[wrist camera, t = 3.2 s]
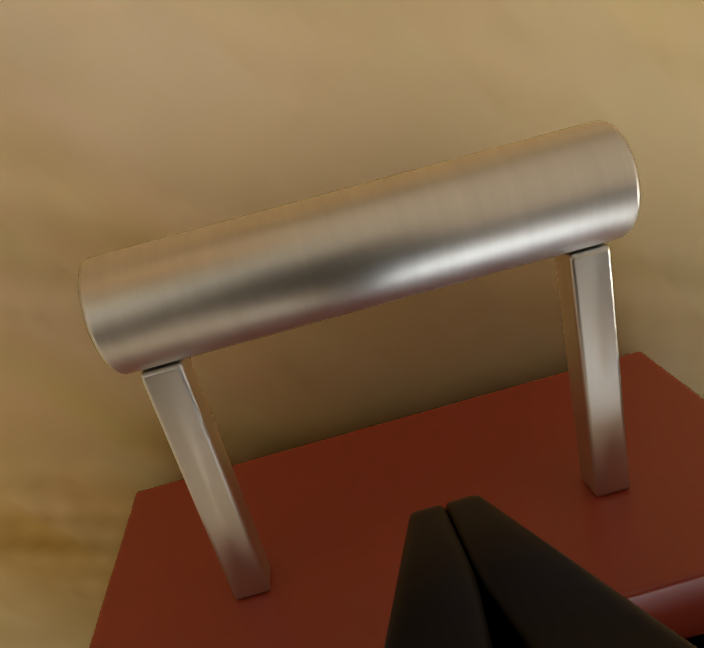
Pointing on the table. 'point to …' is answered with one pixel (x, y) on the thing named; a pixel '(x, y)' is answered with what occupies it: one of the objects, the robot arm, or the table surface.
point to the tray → (404, 433)
